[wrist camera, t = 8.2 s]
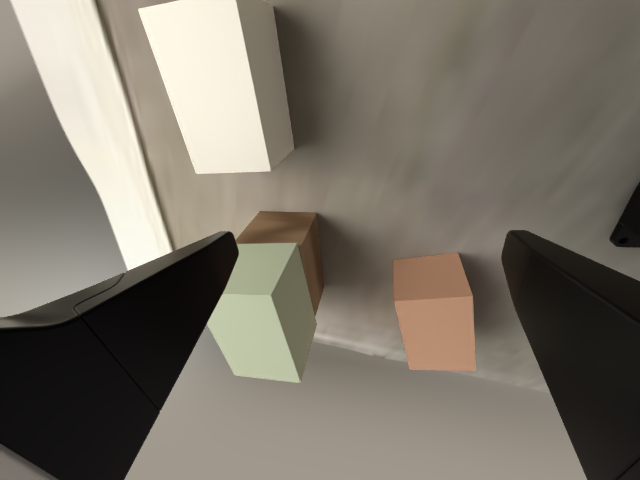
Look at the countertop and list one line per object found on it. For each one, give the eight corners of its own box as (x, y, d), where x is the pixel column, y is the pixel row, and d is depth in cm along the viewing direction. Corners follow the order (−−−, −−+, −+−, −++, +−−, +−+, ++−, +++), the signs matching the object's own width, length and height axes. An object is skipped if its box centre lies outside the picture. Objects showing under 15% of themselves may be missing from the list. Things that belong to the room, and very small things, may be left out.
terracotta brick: (457, 251, 22) (472, 296, 18) (462, 321, 26) (475, 370, 22) (393, 258, 24) (393, 301, 20) (406, 323, 27) (409, 369, 23)
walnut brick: (317, 211, 23) (301, 245, 19) (324, 285, 27) (312, 326, 23) (260, 210, 24) (233, 242, 20) (276, 281, 28) (256, 319, 24)
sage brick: (296, 242, 19) (270, 295, 14) (316, 324, 23) (300, 382, 19) (231, 244, 20) (190, 292, 16) (261, 321, 24) (234, 375, 20)
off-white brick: (273, 6, 16) (233, -11, 12) (295, 148, 20) (270, 171, 16) (198, 20, 17) (137, 9, 13) (233, 151, 21) (196, 173, 17)
